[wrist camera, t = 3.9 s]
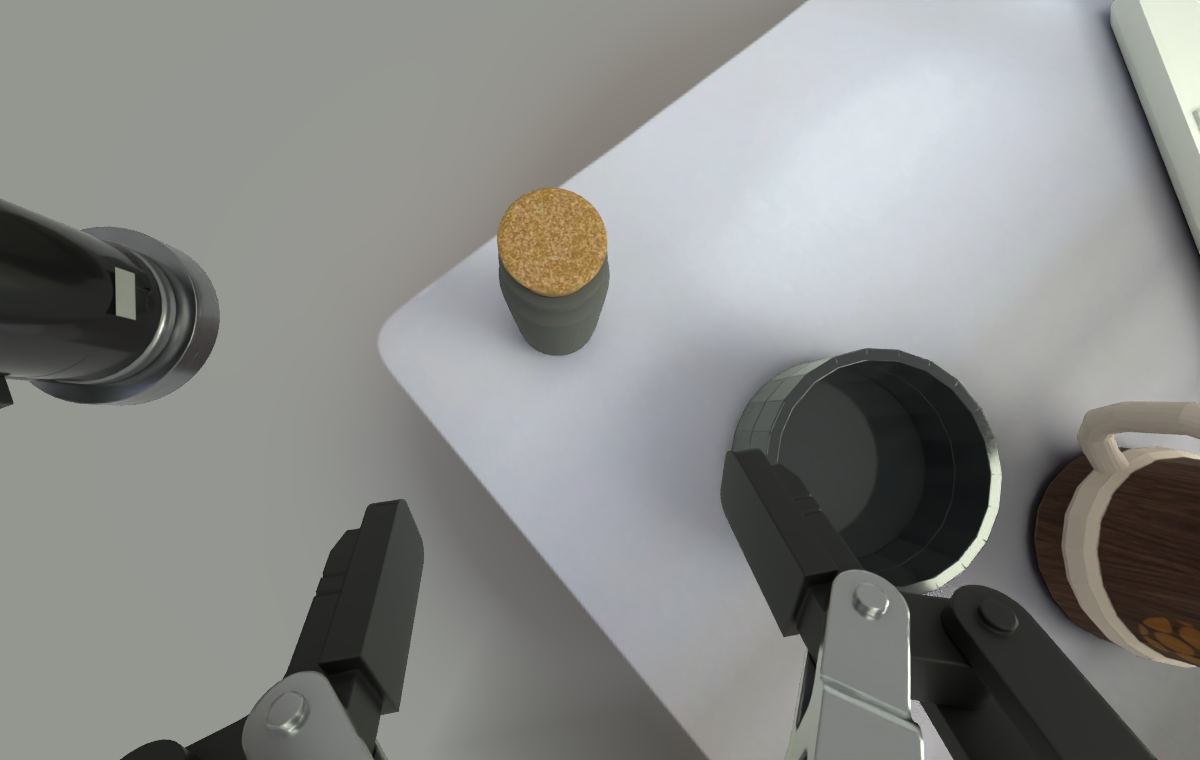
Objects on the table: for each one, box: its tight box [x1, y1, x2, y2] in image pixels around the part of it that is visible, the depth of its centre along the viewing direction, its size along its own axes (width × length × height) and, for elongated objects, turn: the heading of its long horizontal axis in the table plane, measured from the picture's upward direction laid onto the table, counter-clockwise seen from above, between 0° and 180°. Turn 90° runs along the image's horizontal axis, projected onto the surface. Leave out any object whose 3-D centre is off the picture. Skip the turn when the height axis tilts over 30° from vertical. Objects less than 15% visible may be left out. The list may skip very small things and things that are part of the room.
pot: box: [732, 348, 1002, 595], centre depth 33 cm, size 16×16×6 cm
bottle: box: [497, 188, 609, 356], centre depth 27 cm, size 6×6×15 cm
